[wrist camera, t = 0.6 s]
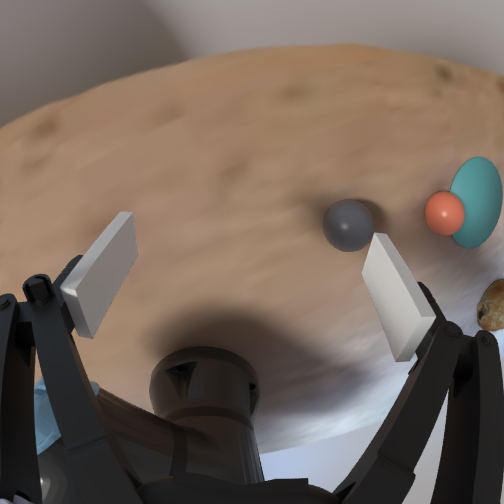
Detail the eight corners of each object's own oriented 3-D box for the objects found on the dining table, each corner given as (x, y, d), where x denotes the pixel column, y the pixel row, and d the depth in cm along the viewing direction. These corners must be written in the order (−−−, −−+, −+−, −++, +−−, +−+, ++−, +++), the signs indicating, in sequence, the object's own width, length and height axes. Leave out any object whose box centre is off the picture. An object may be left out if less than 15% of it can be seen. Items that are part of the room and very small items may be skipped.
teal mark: (478, 260, 40) (478, 261, 39) (432, 223, 36) (433, 224, 36) (510, 187, 36) (511, 187, 36) (470, 137, 32) (471, 138, 32)
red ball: (434, 234, 36) (460, 248, 31) (410, 217, 35) (436, 230, 30) (451, 199, 35) (478, 210, 30) (428, 179, 33) (456, 188, 28)
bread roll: (471, 277, 45) (484, 304, 39) (514, 267, 41) (531, 291, 35) (468, 318, 49) (478, 345, 43) (508, 308, 45) (521, 333, 38)
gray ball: (345, 249, 35) (366, 267, 30) (307, 230, 34) (324, 247, 29) (367, 207, 34) (392, 220, 29) (330, 186, 32) (352, 196, 27)
